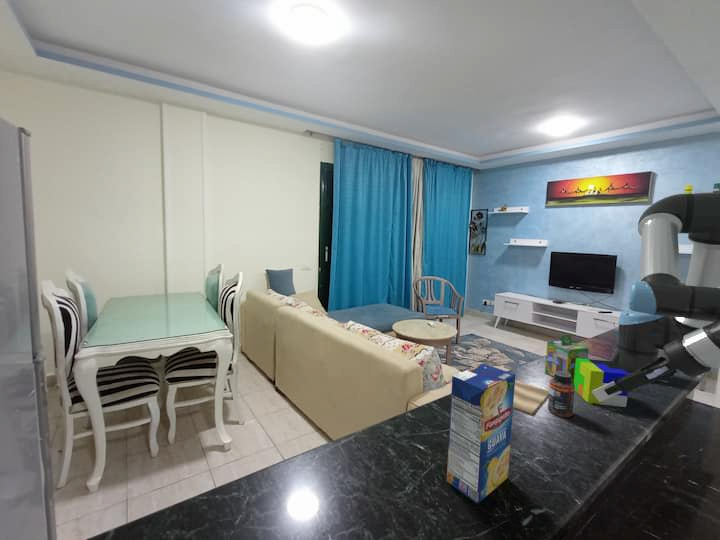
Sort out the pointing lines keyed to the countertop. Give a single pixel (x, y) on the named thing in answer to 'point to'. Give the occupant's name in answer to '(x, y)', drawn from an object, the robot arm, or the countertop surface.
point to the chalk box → (564, 356)
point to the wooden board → (528, 397)
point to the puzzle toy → (598, 380)
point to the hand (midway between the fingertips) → (596, 395)
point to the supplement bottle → (561, 394)
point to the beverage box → (480, 430)
